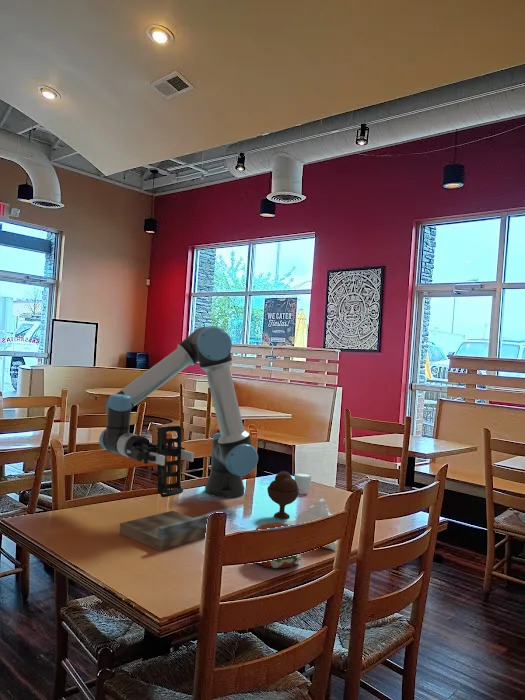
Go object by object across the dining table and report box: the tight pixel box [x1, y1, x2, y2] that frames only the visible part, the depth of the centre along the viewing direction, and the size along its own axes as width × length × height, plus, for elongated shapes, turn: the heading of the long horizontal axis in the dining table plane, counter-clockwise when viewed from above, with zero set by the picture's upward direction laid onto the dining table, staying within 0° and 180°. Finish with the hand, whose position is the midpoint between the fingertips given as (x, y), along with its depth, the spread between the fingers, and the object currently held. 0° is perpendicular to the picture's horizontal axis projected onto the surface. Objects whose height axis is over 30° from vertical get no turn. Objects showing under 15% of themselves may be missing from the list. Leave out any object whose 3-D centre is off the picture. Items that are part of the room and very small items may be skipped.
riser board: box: [119, 510, 211, 552], centre depth 162 cm, size 20×18×6 cm
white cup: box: [293, 472, 312, 495], centre depth 222 cm, size 7×7×7 cm
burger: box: [254, 521, 302, 569], centre depth 147 cm, size 13×14×10 cm
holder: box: [156, 425, 184, 498], centre depth 168 cm, size 11×8×20 cm
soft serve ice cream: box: [283, 497, 337, 552], centre depth 164 cm, size 12×15×14 cm
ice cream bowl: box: [267, 470, 299, 520], centre depth 187 cm, size 11×11×15 cm
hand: (178, 459), depth 165 cm, fingers closed on holder, 10 cm apart
